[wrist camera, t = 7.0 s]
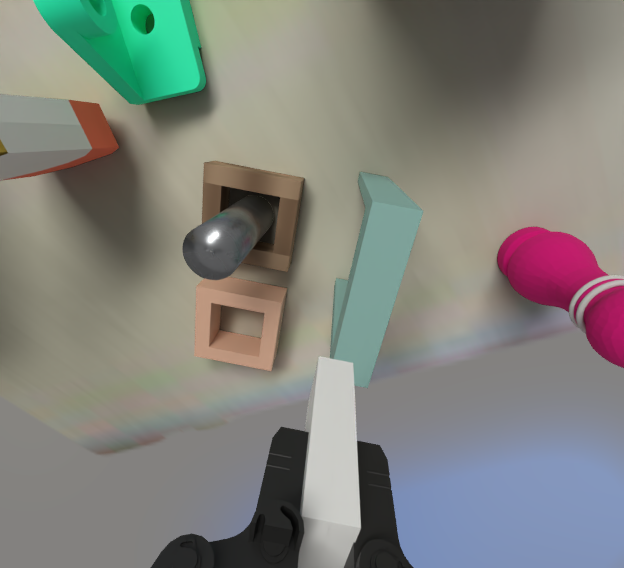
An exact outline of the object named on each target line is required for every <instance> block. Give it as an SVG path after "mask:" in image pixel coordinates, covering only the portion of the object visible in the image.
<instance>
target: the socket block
mask: <svg viewBox="0 0 624 568" xmlns="http://www.w3.org/2000/svg"><path fill="white" fill-rule="evenodd" d="M303 185H304V178H301V177H296V176H291V175H286V174H281V173H275V172H270V171H265V170H260V169H255V168H249V167H244V166H239V165H234V164H229V163H223V162H218V161H211V162H206V163H204V178H203V207H202V224H203V223H204V222H206V221H207V220H209V219H211V218H212V217H214V216H215V215H217V214H219V213H220V212H222V211H223V210H225V209H227V208H228V207H229V196H230V187H231V188H236V189H242V190H247V191H252V192H257V193H262V194H267V195H273V196H278V197H280V203H279V211H278V218H277V226H276V234H275V241H274V244H271V243H265V242H260V241H258V242H257V244H256V245H255V246H254V247H253V248H252V250H251V251H250V252H249V253H248V255H247V256H246V257H245V258H244V260H243V261H242V262H241V263H244V264H249V265H255V266H260V267H265V268H270V269H275V270H280V271H285V272H288V269H289V267H290V264H291V261H292V255H293V248H294V242H295V235H296V229H297V223H298V216H299V210H300V204H301V197H302V191H303Z"/></svg>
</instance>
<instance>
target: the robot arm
mask: <svg viewBox="0 0 624 568" xmlns="http://www.w3.org/2000/svg"><path fill="white" fill-rule="evenodd" d="M151 568H413V567H412V566H411V564H409V562H408V560H407V559H406V557H405V556H404V554H403V552H402V549H401V547H400V544H399V539H398V533H397V527H396V518H395V511H394V504H393V497H392V491H391V483H390V478H389V468H388V461H387V458H386V456H385V454H384V452H383V450H382V449H381V447H380V445H376V444H371V443H366V442H361V441H357V434H356V413H355V391H354V369H353V363H351V362H346V361H341V360H336V359H330V358H325V357H320V356H319V358H318V362H317V367H316V371H315V376H314V380H313V384H312V389H311V393H310V398H309V402H308V410H307V418H306V425H305V431H300V430H295V429H290V428H284V427H281V428H280V429H279V430H278V432H277V433H276V434H275V435H274V437H273V438H272V443H271V447H270V451H269V456H268V460H267V465H266V469H265V473H264V478H263V482H262V486H261V491H260V495H259V499H258V504H257V508H256V512H255V514H254V516H253V518H252V521H251V523H250V524H249V526H248V527H247V528H246V529H245V530H244V531H243V532H241V533H240V534H238V535H236V536H234V537H231V538H228V539H223V540H219V541H213V542H208V541H207V540H206V539H205V538H203V537H202V536H199V535H195V534H188V535H183V536H180V537H178V538H176V539H175V540H173V541H171V542H170V543H169V544H168V545H167V546H166V547H165V549H164V550H163V551H162V552H161V553H160V555H159V556H158V558H157V559H156V561H155V562H154V564H153V565H152V567H151Z"/></svg>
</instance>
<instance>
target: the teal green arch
mask: <svg viewBox="0 0 624 568" xmlns="http://www.w3.org/2000/svg"><path fill="white" fill-rule="evenodd" d="M358 184H359V187H360V191H361V194H362V197H363V201H364V204H365V208H366V209H365V213H364V217H363V221H362V225H361V229H360V233H359V238H358V242H357V246H356V250H355V254H354V258H353V263H352V267H351V271H350V275H349V279H348V280H343V279H338V278H336V281H335V286H334V302H333V317H332V333H331V348H330V359H336V360H341V361H346V362H351V363H353V369H354V385H355V386H360V387H365V388H368V385H369V382H370V379H371V376H372V373H373V369H374V366H375V363H376V360H377V357H378V354H379V350H380V347H381V344H382V341H383V338H384V334H385V331H386V328H387V325H388V322H389V319H390V315H391V312H392V309H393V306H394V303H395V300H396V296H397V293H398V290H399V287H400V284H401V281H402V277H403V274H404V271H405V268H406V265H407V261H408V258H409V255H410V252H411V249H412V246H413V242H414V239H415V236H416V233H417V230H418V227H419V223H420V220H421V217H422V214H423V210H422V209H421V208H420V207H419V206H418V205H417V204H415V203H414V202H413V201H412V200H411V199H410V198H409V197H408V196H407V195H406V194H405V193H404V192H403V191H402V190H401V189H400V188H399V187H398V186H397V185H396V184H395V183H394V182H393V181H391V180H390V179H389V178H388V177H385V176H380V175H375V174H369V173H364V172H360V174H359V178H358Z"/></svg>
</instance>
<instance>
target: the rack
mask: <svg viewBox="0 0 624 568" xmlns="http://www.w3.org/2000/svg"><path fill="white" fill-rule="evenodd" d="M286 293H287V288H283V287H278V286H273V285H268V284H263V283H258V282H253V281H247V280H242V279H237V278H232V277H227V278H224V279H221V280H209V279H205V278H204V279H203V280H202V281H201V282H200V283H199V284H198V285H197V287H196V321H195V355H194V356H197V357H202V358H207V359H212V360H217V361H222V362H228V363H233V364H238V365H243V366H248V367H253V368H258V369H263V370H268V371H272V367H273V364H274V361H275V358H276V354H277V350H278V344H279V337H280V331H281V324H282V318H283V312H284V305H285V299H286ZM221 305H225V306H230V307H235V308H240V309H245V310H250V311H256V312H261V313H265V314H264V322H263V330H262V337H261V338H257V337H252V336H247V335H242V334H237V333H232V332H227V331H221V330H220V319H221Z"/></svg>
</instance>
